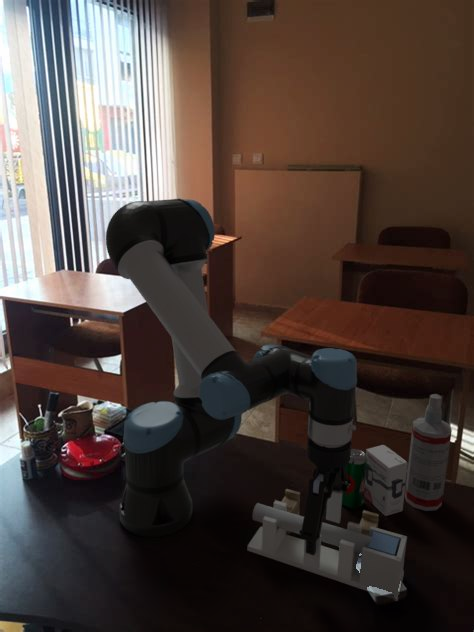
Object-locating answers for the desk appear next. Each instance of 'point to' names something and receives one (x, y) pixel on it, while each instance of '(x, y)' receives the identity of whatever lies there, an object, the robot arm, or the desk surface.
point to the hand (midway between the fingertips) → (322, 541)
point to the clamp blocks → (294, 504)
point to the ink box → (385, 479)
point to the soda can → (355, 479)
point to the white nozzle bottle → (428, 458)
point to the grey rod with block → (328, 531)
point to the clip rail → (334, 556)
